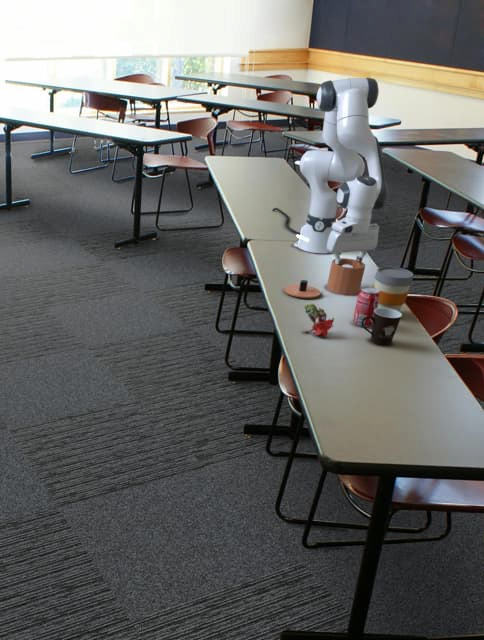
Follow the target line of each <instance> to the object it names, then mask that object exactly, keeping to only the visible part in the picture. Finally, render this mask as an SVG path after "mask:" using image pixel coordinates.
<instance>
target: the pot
mask: <svg viewBox="0 0 484 640" xmlns="http://www.w3.org/2000/svg"><path fill="white" fill-rule="evenodd" d="M340 259H342V261H341V264H336V263H335V260H336V258H334V259H332V261H331V264H330V270H329V276H328V280H327V283H326V289H327V291H329V292H331V293H332V294H333V293H334V294H337V295H341V296H342V295H343V296H355V295H359V293H360V292H361V285H362V282H363V279H364V273H365V269H366V264H365V263H364V262H363V261H362V262H357V261H356V259H353V258H348V257H347V258H345V257H340ZM343 265H351V266H353V268H348V267H343Z"/></svg>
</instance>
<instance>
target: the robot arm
mask: <svg viewBox="0 0 484 640" xmlns="http://www.w3.org/2000/svg"><path fill="white" fill-rule="evenodd" d="M379 93H380V89H379V84H378V82H377V80H376V79H375V78H372V77H348V78H341V79H336V80H326V81H324V82H321V84H320V85H319V87H318V89H317V93H316V103H317V107H318V109H319V110H320V111H321V112H324V118H323V126H322V132H321V134H322V135H321V137H322V140H323V143H324V144H325V145H327V146H328V147H330V148H331V150H332V151H331V150H323V149H312V150H307V151H305V153H304V154H302V156H301V158H300V161H299V170H300V173H301V174H302V176H303V177H304V178H305V179H306V181H307V183H308V185H309V188H310V196H311V197H310V205H309V212H308V213H307V215H306V222H305V224H304V225H302V226H301V228H300V232H299V231H297V230H295V229H293V228H291V227H290V226H289V225H288V223H289V222H288V221H289V219H290V218H289V215H288V214H287V213H286V212H284V211H283V210H281V209H280V208H278V207H274V208H272V209H271V211H272V212H274V211H277V212H279V213H280V214H282V215H283V216H284V217H285V222H284V226H285V228H286V229H287V230H288V231H290V232H292V233H294V234H296V237H297V238H298V240H297V241H295V242H294V243H293V247H295V248H299V249H300V250H302V251H303V252H307V253H312V254H330V253H331V254H333V255H334V259H336V260H335V263H336V264H341V261H342V259H340V258H341V257H340V256H341V255H342V253H350V252H360V253H359V254H358V255H357V256H356V259H355V260H356V261H357V262H363V259H364V257H365V256H366V255H367V254H368V251H373V250H375V249H376V248H377V246H378V241H379V230H380V226H379V224H378V223H376V222H374V223H371V221H372V211H373V212H378V211H380V210H381V209H382V208H384V207H385V206H386V204H387V203H388V200H389V196H390V195H389V194H390V193H389V187H388V184H387V181H386V177H385V171H384V164H383V158H382V152H381V146H380V142H379V139H378V138H377V136H375V135H374V133H373V131H372V129H371V127H370V122H369V121H370V120H369V119H370V118H369V117H370V116H369V109H371V108H373V107H374V106H375V105H376V103H377V101H378V98H379ZM360 155H361V156H360ZM363 158H364V159H365V161H366V164H367V172H368V175H364V173H365V168H366V167H365V166H366V165H365V161H364V159H363ZM328 182H337V183H341V184H340V185H339V186H338V187H337V190H336V191H334V190H333V189H332V187H331V188H330V186H329V184H328ZM338 207H339V208H340V209H344V210H347V212H346V214H345V217H343V218H341V219H340V220H337V212H338Z"/></svg>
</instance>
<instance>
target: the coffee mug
mask: <svg viewBox="0 0 484 640" xmlns="http://www.w3.org/2000/svg"><path fill="white" fill-rule="evenodd" d="M402 316H403V313H402V312H399V311H397V310H394V309H389V308H377V309H375V310H374V317H371V316H367V317H365V318H363V320H362V326H363V327H362V326H361V327H362V328H363V329H364V330H365V331H367V332H368V333H369V334H370V343H371V344H373V345H375V346H380V347H389V346H390V345H391V344H392V342H393V339H394V337H395V334H396V332H397V330H398V327H399V325H400V322H401V319H402V318H403V317H402ZM367 318H371V319H372V321H373V324H372V325H371V330H370V329H368V328H367V327H365V326H364V324H363V322H364V320H365V319H367Z"/></svg>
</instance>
